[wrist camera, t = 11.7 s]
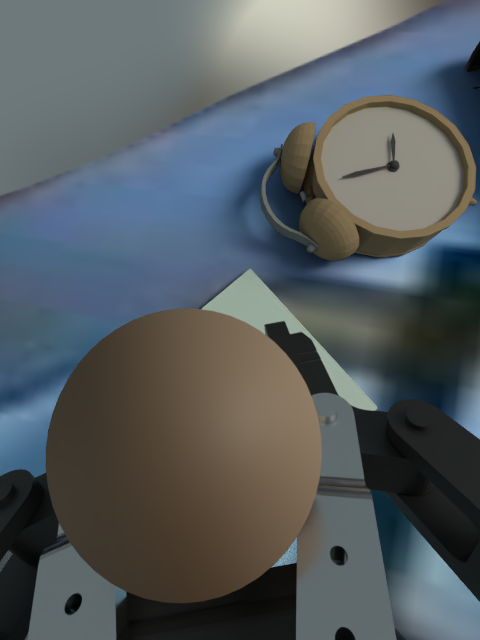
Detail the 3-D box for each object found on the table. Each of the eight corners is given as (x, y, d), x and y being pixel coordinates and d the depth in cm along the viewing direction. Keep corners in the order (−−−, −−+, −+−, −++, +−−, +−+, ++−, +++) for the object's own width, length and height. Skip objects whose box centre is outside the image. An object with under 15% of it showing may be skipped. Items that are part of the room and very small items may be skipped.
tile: (250, 270, 24) (250, 268, 23) (374, 407, 22) (377, 407, 21) (113, 384, 23) (109, 384, 22) (229, 540, 21) (228, 545, 20)
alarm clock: (508, 214, 21) (300, 260, 18) (451, 249, 26) (279, 289, 23) (440, 81, 23) (246, 104, 21) (399, 134, 28) (237, 159, 25)
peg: (237, 345, 17) (202, 259, 5) (287, 405, 16) (381, 462, 4) (178, 395, 17) (-5, 425, 5) (227, 458, 16) (155, 676, 4)
